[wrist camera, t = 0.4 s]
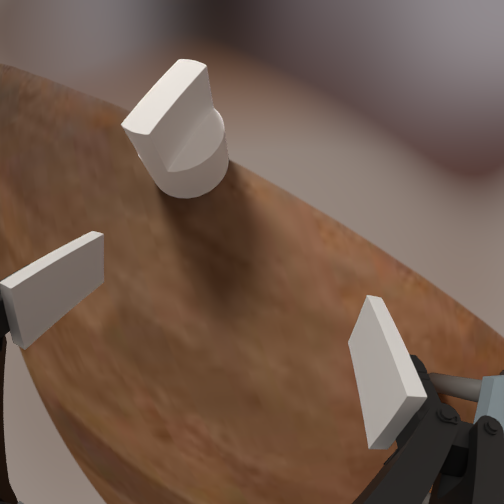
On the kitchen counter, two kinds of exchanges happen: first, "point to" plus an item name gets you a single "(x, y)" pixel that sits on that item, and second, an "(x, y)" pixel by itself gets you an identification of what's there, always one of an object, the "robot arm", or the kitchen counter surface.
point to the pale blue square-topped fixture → (474, 395)
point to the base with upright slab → (180, 132)
